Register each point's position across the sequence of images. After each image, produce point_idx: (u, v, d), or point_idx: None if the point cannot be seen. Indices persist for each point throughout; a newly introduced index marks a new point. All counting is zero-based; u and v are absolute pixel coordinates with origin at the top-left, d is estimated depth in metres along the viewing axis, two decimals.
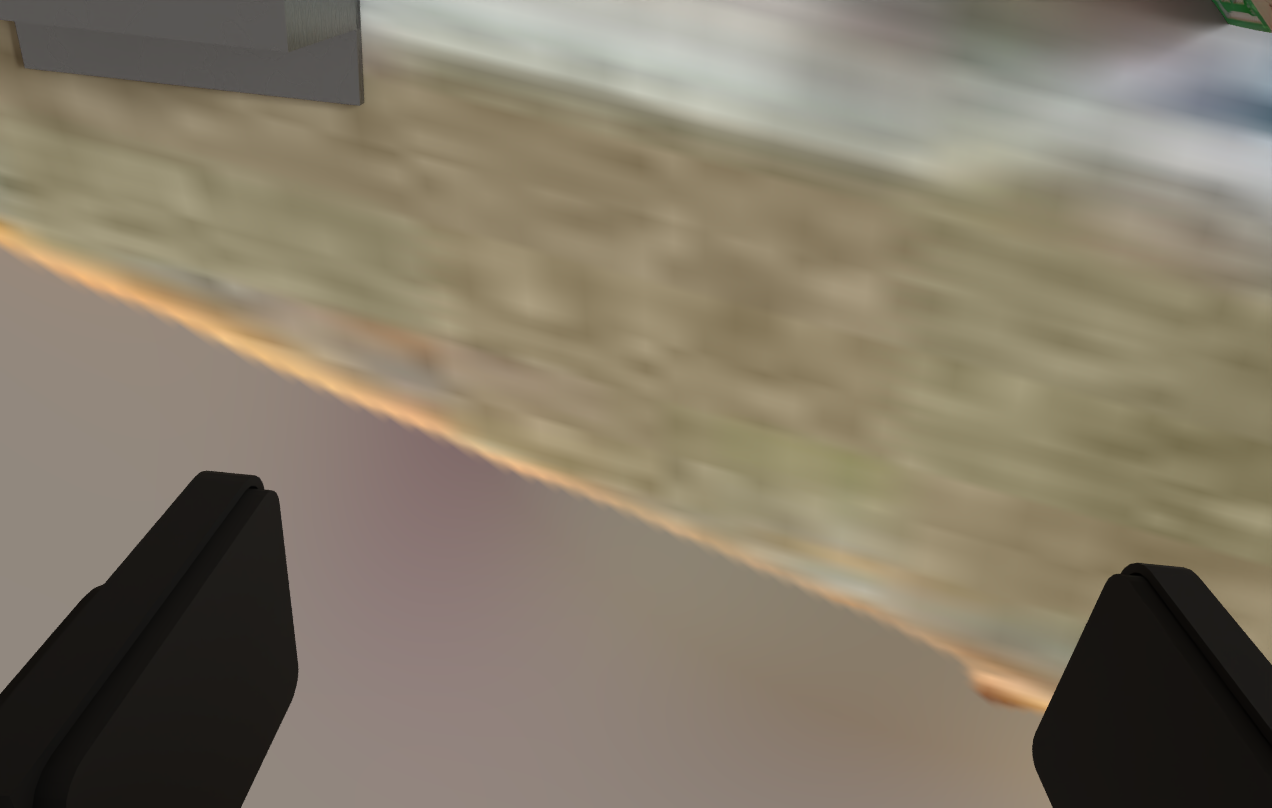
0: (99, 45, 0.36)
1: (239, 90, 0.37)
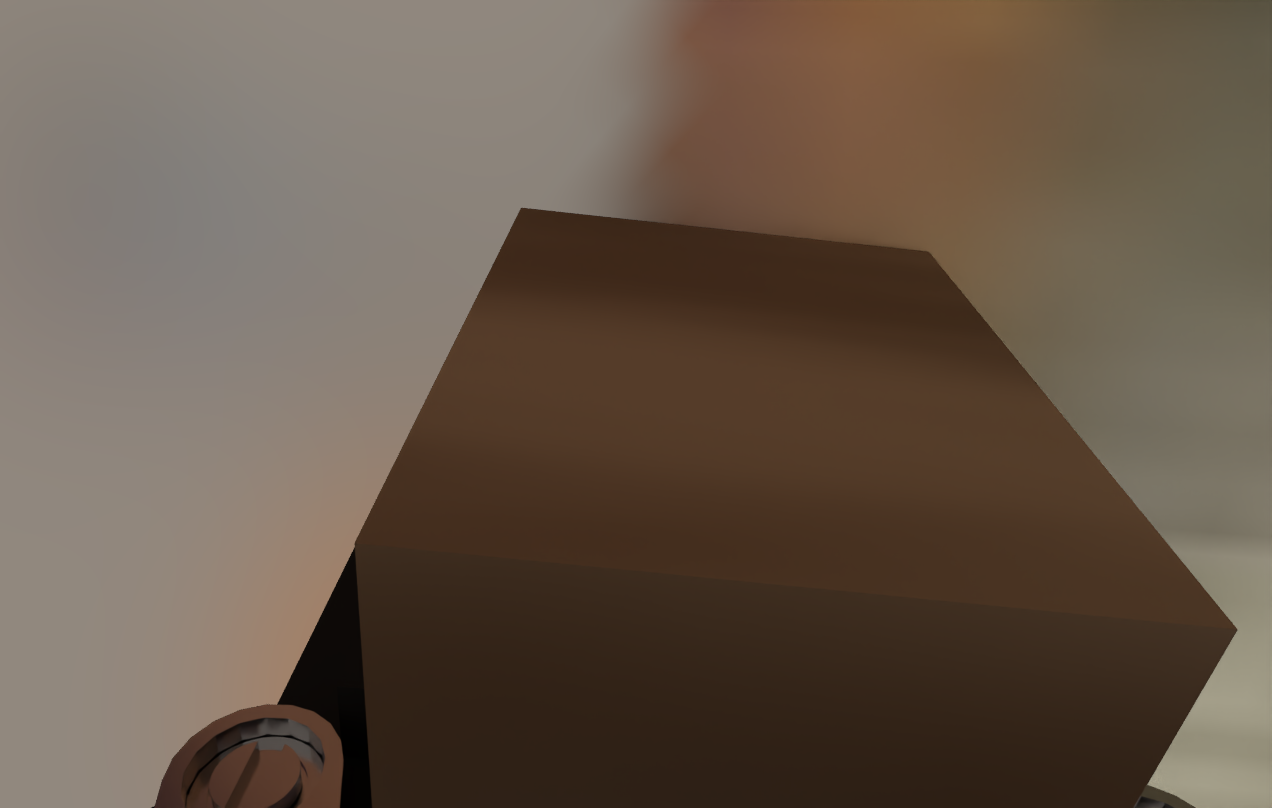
0: None
1: None
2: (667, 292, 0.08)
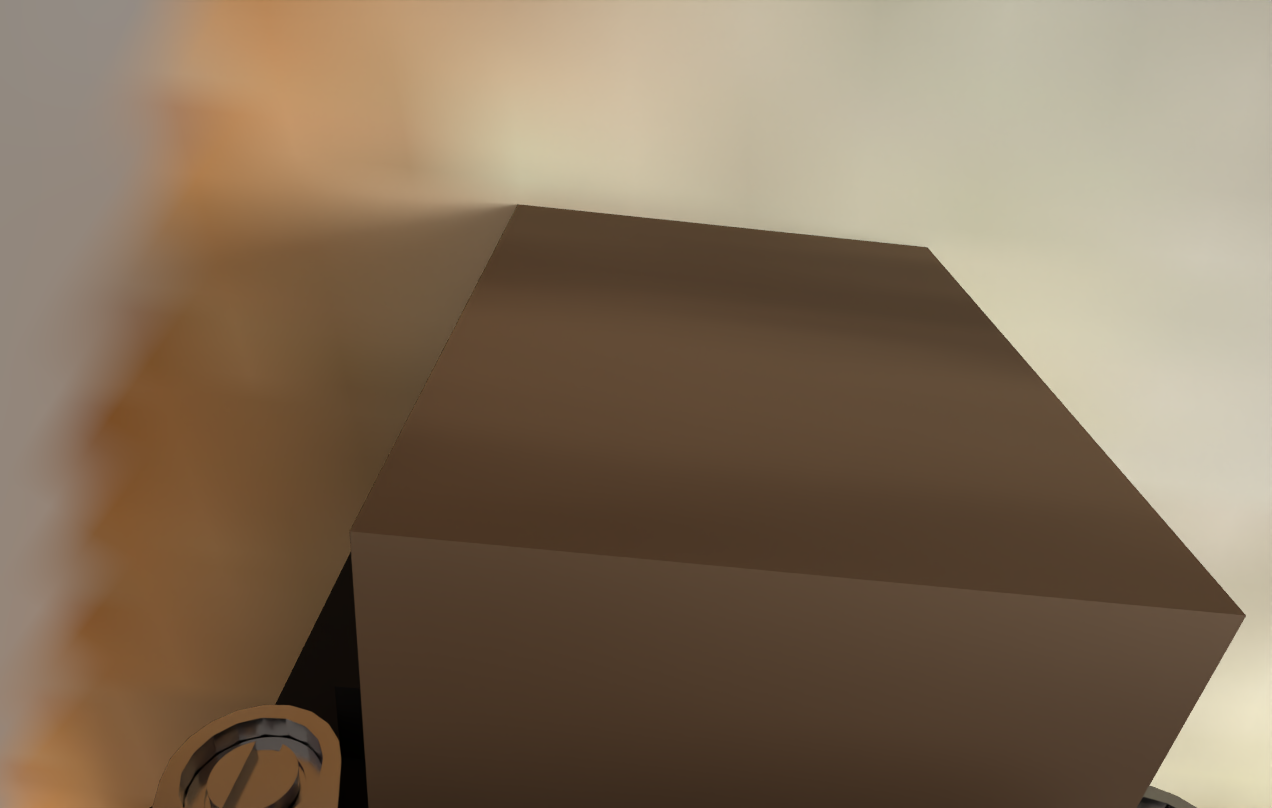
0: None
1: None
2: (665, 284, 0.08)
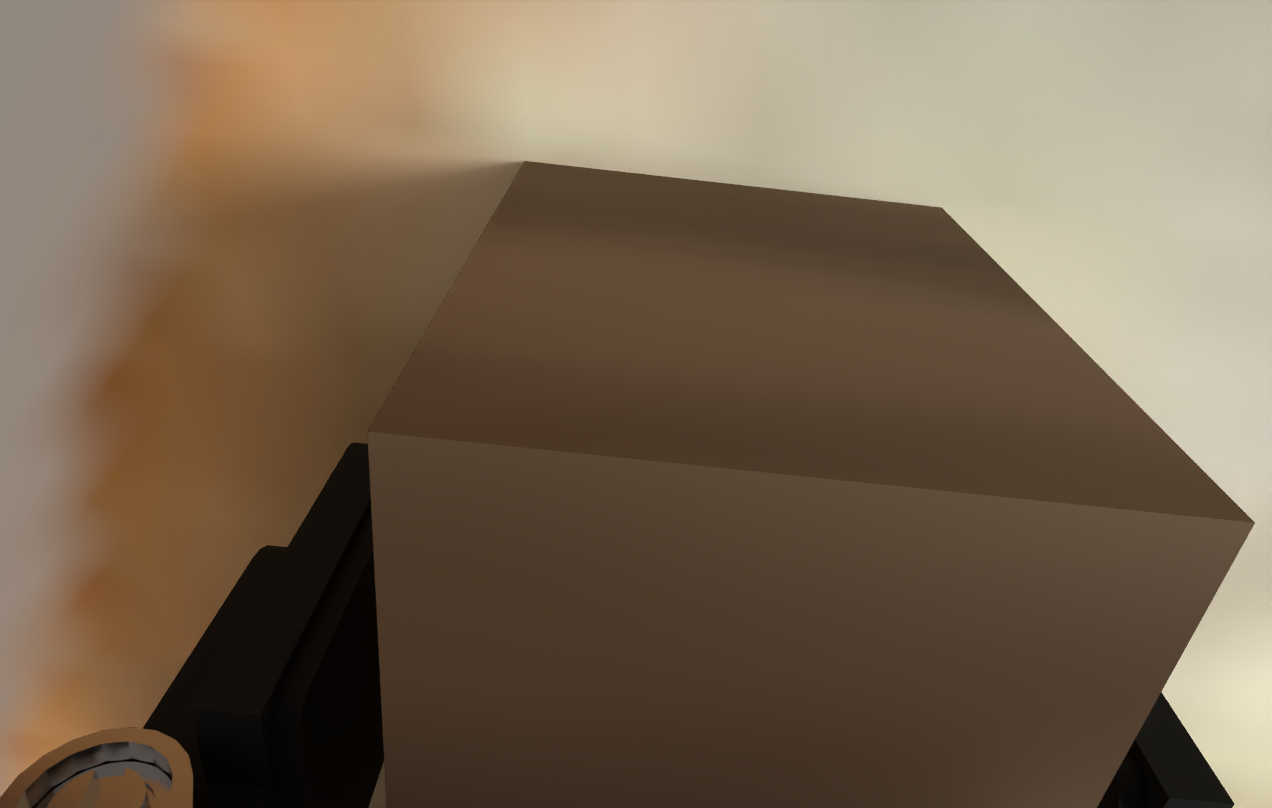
0: None
1: None
2: (676, 227, 0.08)
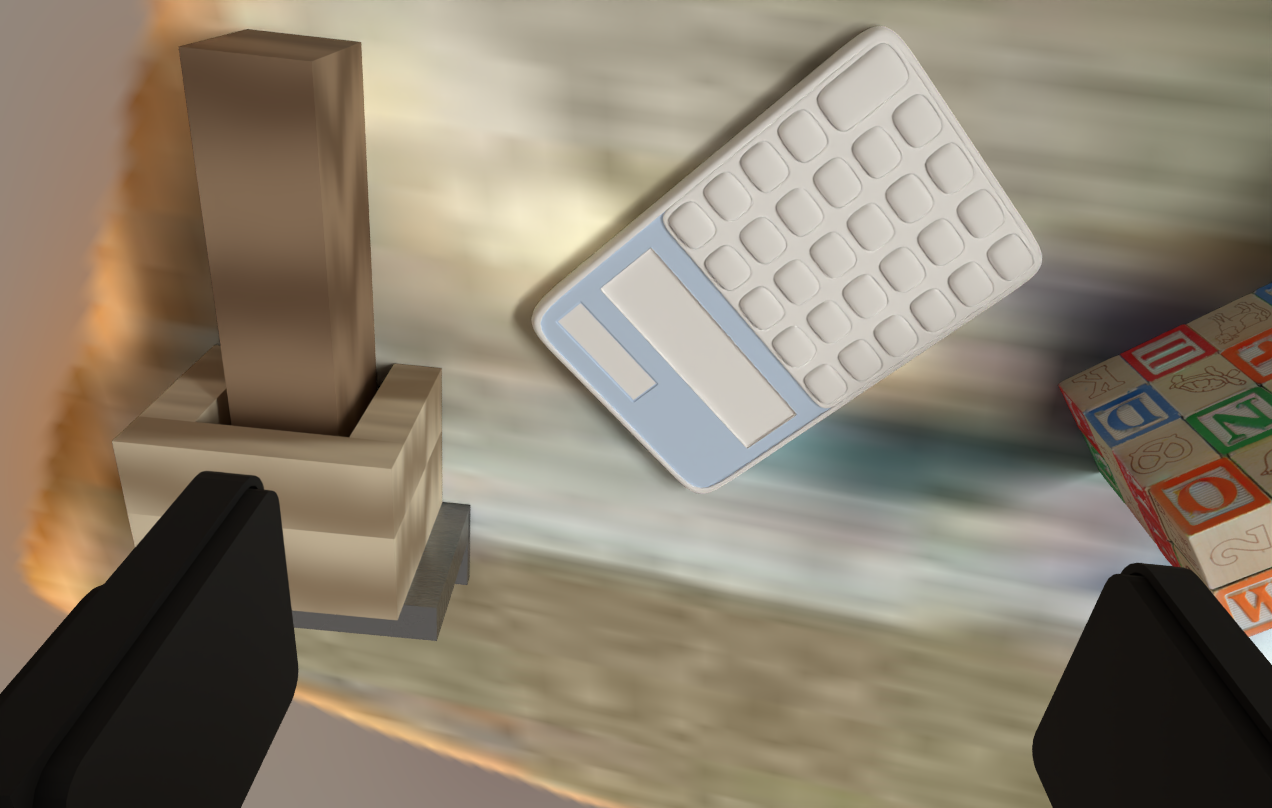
0: None
1: None
2: (270, 39, 0.34)
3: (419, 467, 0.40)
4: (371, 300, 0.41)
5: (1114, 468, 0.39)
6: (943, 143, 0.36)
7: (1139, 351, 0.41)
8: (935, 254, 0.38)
